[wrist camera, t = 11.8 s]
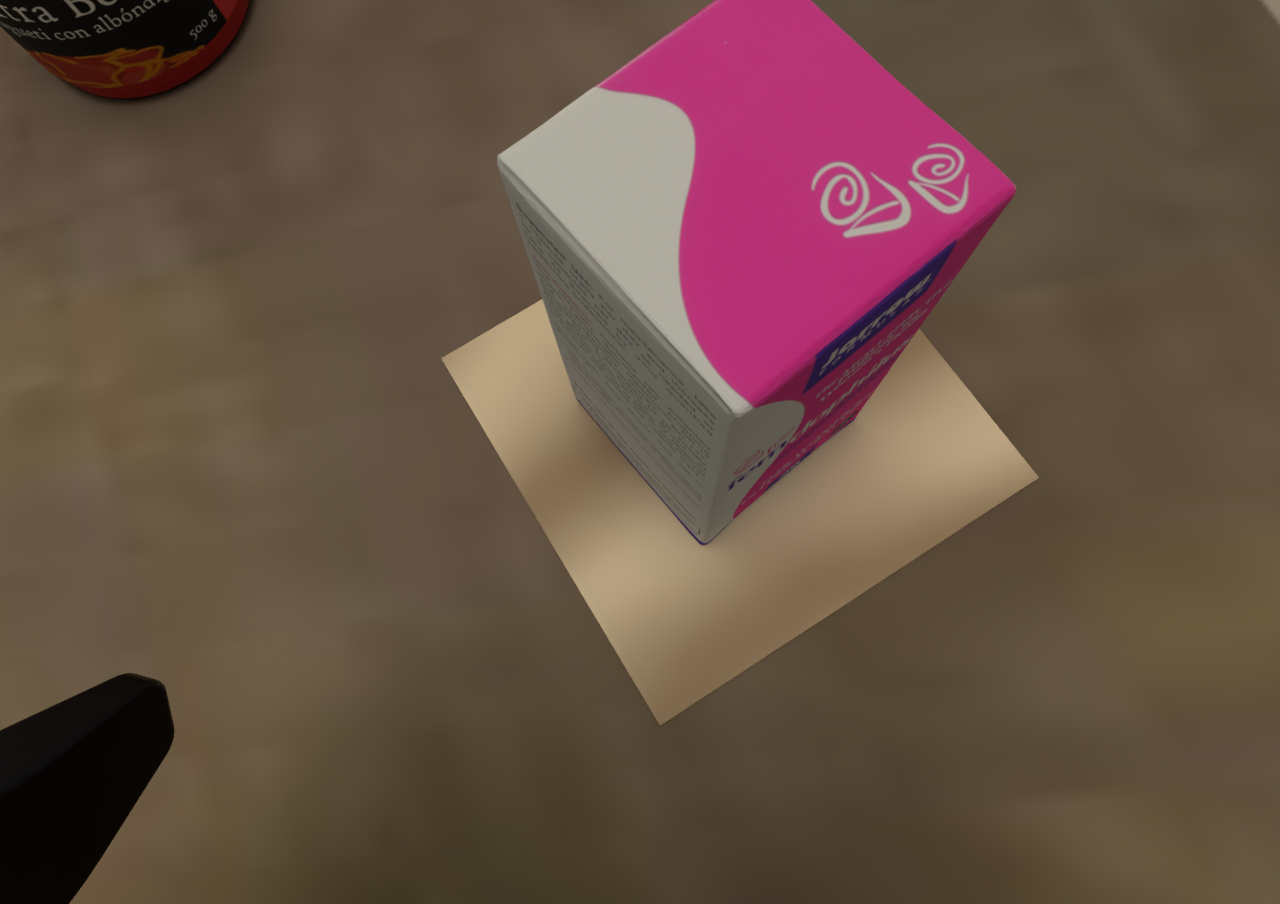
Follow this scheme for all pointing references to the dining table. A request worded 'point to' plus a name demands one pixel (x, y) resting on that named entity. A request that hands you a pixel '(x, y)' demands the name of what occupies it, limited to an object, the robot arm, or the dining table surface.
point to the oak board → (760, 535)
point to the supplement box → (742, 244)
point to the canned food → (123, 40)
